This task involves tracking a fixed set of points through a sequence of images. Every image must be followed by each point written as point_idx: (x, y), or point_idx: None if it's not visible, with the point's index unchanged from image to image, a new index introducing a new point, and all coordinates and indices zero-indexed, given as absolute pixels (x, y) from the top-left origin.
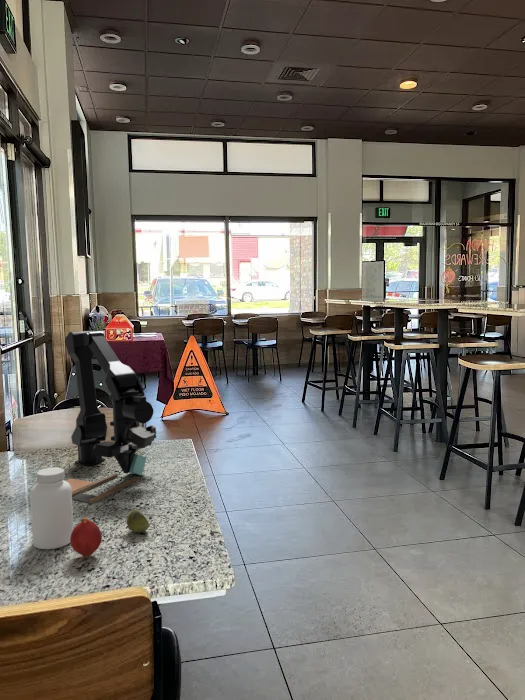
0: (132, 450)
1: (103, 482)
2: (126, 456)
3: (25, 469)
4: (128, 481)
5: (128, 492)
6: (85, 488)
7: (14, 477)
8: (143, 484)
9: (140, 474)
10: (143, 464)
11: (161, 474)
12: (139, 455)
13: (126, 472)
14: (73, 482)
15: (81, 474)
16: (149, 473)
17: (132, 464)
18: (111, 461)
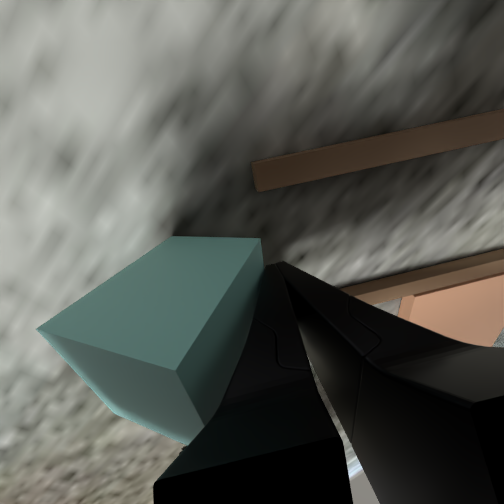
0: (343, 482)
1: (370, 283)
2: (435, 352)
3: (347, 463)
4: (348, 163)
5: (474, 7)
6: (488, 262)
7: None
8: (291, 51)
9: (182, 236)
10: (124, 277)
11: (29, 122)
12: (144, 353)
13: (289, 265)
14: None
15: (320, 393)
16: (110, 224)
17: (243, 295)
18: (168, 437)
